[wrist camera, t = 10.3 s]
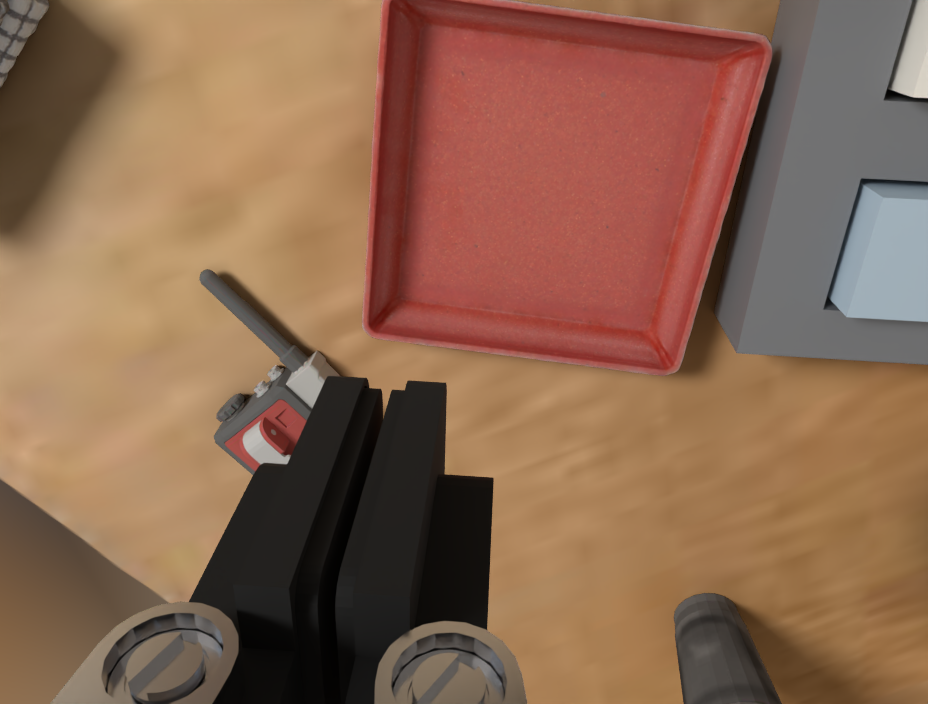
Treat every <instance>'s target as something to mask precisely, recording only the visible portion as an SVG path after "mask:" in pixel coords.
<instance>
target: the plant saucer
mask: <svg viewBox="0 0 928 704" xmlns="http://www.w3.org/2000/svg"><path fill="white" fill-rule="evenodd" d="M772 53H773V47H772V45H771V43H770V41H769V40H768V38H767V37H766V36H765V35H762V34H758V33H752V32H743V31H735V30H728V29H720V28H713V27H706V26H696V25H689V24H683V23H676V22H668V21H661V20H654V19H646V18H638V17H631V16H623V15H617V14H608V13H602V12H595V11H586V10H578V9H572V8H564V7H557V6H551V5H542V4H533V3H527V2H520V1H513V0H382V5H381V20H380V37H379V50H378V60H377V82H376V96H375V111H374V127H373V139H372V165H371V182H370V196H369V211H368V233H367V249H366V264H365V284H364V298H363V316H362V327H363V330H364V331H365V332H366V333H367V334H368V335H369V336H371V337H372V338H376V339H382V340H389V341H398V342H406V343H413V344H420V345H427V346H437V347H445V348H453V349H461V350H468V351H476V352H482V353H490V354H499V355H506V356H512V357H522V358H529V359H537V360H543V361H554V362H560V363H566V364H576V365H583V366H589V367H597V368H606V369H611V370H621V371H627V372H634V373H643V374H649V375H659V376H666V375H669V374H672V373H675V372H677V371H678V370H679V368H680V366H681V363H682V361H683V358H684V354H685V350H686V346H687V343H688V340H689V337H690V334H691V330H692V328H693V323H694V320H695V316H696V313H697V310H698V306H699V303H700V300H701V296H702V292H703V289H704V286H705V282H706V280H707V277H708V273H709V269H710V266H711V261H712V258H713V255H714V252H715V248H716V244H717V242H718V239H719V236H720V232H721V228H722V224H723V221H724V217H725V215H726V212H727V210H728V206H729V202H730V199H731V195H732V191H733V188H734V185H735V181H736V177H737V174H738V171H739V167H740V164H741V160H742V157H743V154H744V151H745V148H746V145H747V141H748V137H749V133H750V130H751V127H752V124H753V121H754V117H755V114H756V111H757V108H758V104H759V100H760V97H761V94H762V91H763V88H764V84H765V80H766V76H767V73H768V70H769V67H770V63H771V59H772Z"/></svg>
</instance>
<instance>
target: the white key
mask: <svg viewBox="0 0 928 704" xmlns="http://www.w3.org/2000/svg"><path fill="white" fill-rule="evenodd" d="M887 89H890V90H893V91H896V92H899V93H902V94H904V95H907V96H910V97H916V98H928V0H912V4H911V7H910V10H909V14H908V17H907V21H906V24H905V28H904V31H903V35H902V38H901V42H900V45H899V49H898V52H897V55H896V59H895V62H894V66H893V69H892V73H891V76H890V80H889V83H888V87H887Z"/></svg>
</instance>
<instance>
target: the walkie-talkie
mask: <svg viewBox="0 0 928 704" xmlns="http://www.w3.org/2000/svg"><path fill="white" fill-rule="evenodd" d="M200 282H201V284H202V285H204V286H205V287H206V288H207V289H208V290H209V291H210V292H211V293H212V294H213V295H214V296H215V297H216V298H217V299H218V300H219V301H220V302H222V303H223V304H224V305H225V306H226V307H227V308H228V309H229V310H230V311H231V312H232V313H233V314H234V315H235V316H236V317H237V318H238V319H239V320H241V321H242V322H243V323H244V324H245V325H246V326H247V327H248V328H249V329H250V330H251V331H252V332H253V333H254V334H255V335H256V336H257V337H259V338H260V339H261V340H262V341H263V342H264V343H265V344H266V345H267V346H268V347H269V348H270V349H271V350H272V351H273V352H274V353H275V354H276V355H278V356H279V357H280V361H281V362H282V363H283V364H284V365H285V366H286V368H285V369H284V368H282V369H280V368H279V367H278V366H277V365H275V366H274V367H273V368H272V369H271V370H270V371H269V372H268V374H267V375H268V376H269V377H270V378H271V380H270V381H269V382H268V383H267V384H266V383H265V382H264V381H261V382H260V383H259V384H258V385H257V386H256V387H255V389H254V391H255V392H256V393H254V394H253V395H252V396H251V397H249V398H248V399H247V400H246V401H244V399H245V398H244V396H243V395H242V394H241V393H240V394H236V395H234V396H233V397H232V398H230V399H229V400H228V401H227V402H226V403H225V404H224V406H223V407H222V408H221V409H220V410H219V412H218V413H217V419H218V420H219V421H220V422H222V421H223V422H222V424H221V425H220V427H219V429H218V430H217V432H216V433H215V435H214V439H215V442H216V444H218V445H219V446H220V447H221V448H222V449H223V450H224V451H226V452H227V453H228V454H229V455H230V456H231V457H233V458H234V459H235V460H236V461H237V462H238V463H240V464H241V465H242V466H243V467H244V468H245V469H247V470H248V471H249V472H250V473H251V474H252V475H254V473H255V471H256V470H257V468H258V467H259V465H261V464H263V463H277V464H287V463H288V461H289V459H290V457H291V455H292V452H293V450H294V448H295V446H296V443H297V441H298V439H299V437H300V435H301V432H302V430H303V428H304V426H305V424H306V421H307V419H308V417H309V415H310V413H311V410H312V408H313V406H314V404H315V402H316V399H317V397H318V395H319V393H320V391H321V388H322V386H323V384H324V382H325V380H326V378H327V376H340V375H339V374H338V373H337V372H336V371H335V370H334V369H333V368H332V367H331V366H330V365H329V364H328V363H327V362H326V359H325V357H324V356H323V355H322V354H321V353H319V352H318V351H316V352H315V353H313V354H312V355H311V356H310V357H307V356H306V355H305V354H304V353H303V352H302V351H301V350H300V349H299V348H298V347H297V346H296V345H291V344H290V343H289V342H288V341H287V340H286V339H285V338H284V337H283V336H282V335H281V334H280V333H278V332H277V331H276V330H275V329H274V328H273V327H272V326H271V325H270V324H269V323H268V322H267V321H266V320H265V319H264V318H263V317H262V316H261V315H260V314H259V313H258V312H257V311H256V310H255V309H254V308H253V307H252V306H251V305H249V304H248V303H247V302H246V301H244V300H243V299H242V298H241V297H240V296H239V295H237V294H236V293H235V292H234V291H233V290H232V289H231V288H230V287H229V286H228V285H227V284H226V283H225V282H224V281H223V280H222V279H221V278H220V277H218V276H217V275H216V274H215V273H214V272H213V271H211V270H208V269H207V270H204V271H203V272H201V274H200ZM340 377H341V376H340Z"/></svg>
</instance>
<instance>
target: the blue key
mask: <svg viewBox="0 0 928 704" xmlns="http://www.w3.org/2000/svg"><path fill="white" fill-rule="evenodd" d="M827 297H828V298H829V299H830V300H831V301H832V302H833V303H834V304H835V305H836V306H837V307H838V309H839V310H840V311H841V312H842V313H843V314H844V315H845V316H846V317H851V318H868V319H885V320H903V321H920V322H928V182H924V181H905V180H885V179H865V178H861V180H860V184H859V187H858V191H857V194H856V197H855V201H854V204H853V208H852V211H851V215H850V218H849V222H848V225H847V229H846V232H845V236H844V239H843V243H842V246H841V249H840V253H839V256H838V260H837V263H836V267H835V270H834V274H833V277H832V281H831V284H830V288H829V291H828V294H827Z"/></svg>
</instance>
